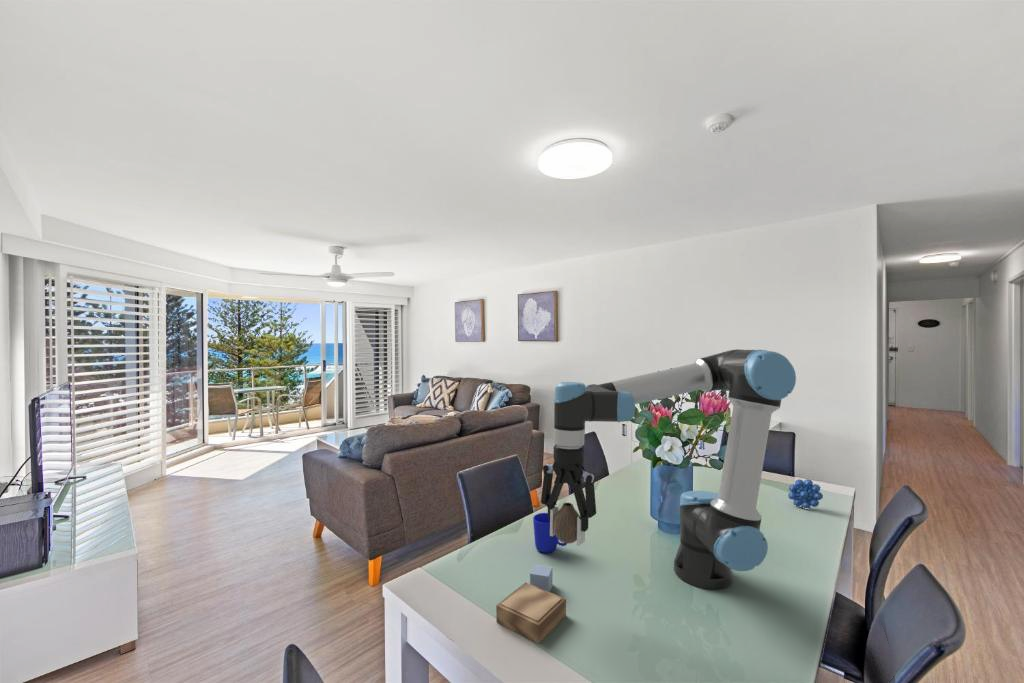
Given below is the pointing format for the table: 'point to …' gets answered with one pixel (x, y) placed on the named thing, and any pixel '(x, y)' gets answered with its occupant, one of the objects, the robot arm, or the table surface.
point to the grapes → (805, 493)
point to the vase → (566, 523)
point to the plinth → (531, 611)
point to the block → (541, 577)
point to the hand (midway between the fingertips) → (567, 538)
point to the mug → (544, 534)
